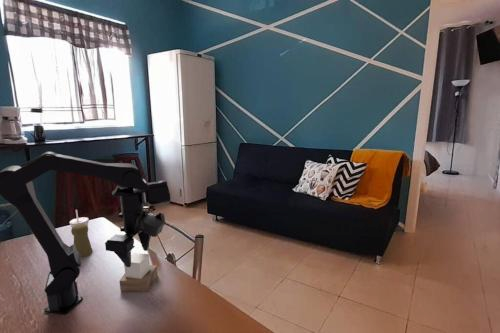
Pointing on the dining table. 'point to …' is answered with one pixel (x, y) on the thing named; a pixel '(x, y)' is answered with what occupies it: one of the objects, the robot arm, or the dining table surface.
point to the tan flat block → (139, 281)
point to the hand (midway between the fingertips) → (137, 258)
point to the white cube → (138, 266)
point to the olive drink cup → (82, 240)
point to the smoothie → (79, 221)
